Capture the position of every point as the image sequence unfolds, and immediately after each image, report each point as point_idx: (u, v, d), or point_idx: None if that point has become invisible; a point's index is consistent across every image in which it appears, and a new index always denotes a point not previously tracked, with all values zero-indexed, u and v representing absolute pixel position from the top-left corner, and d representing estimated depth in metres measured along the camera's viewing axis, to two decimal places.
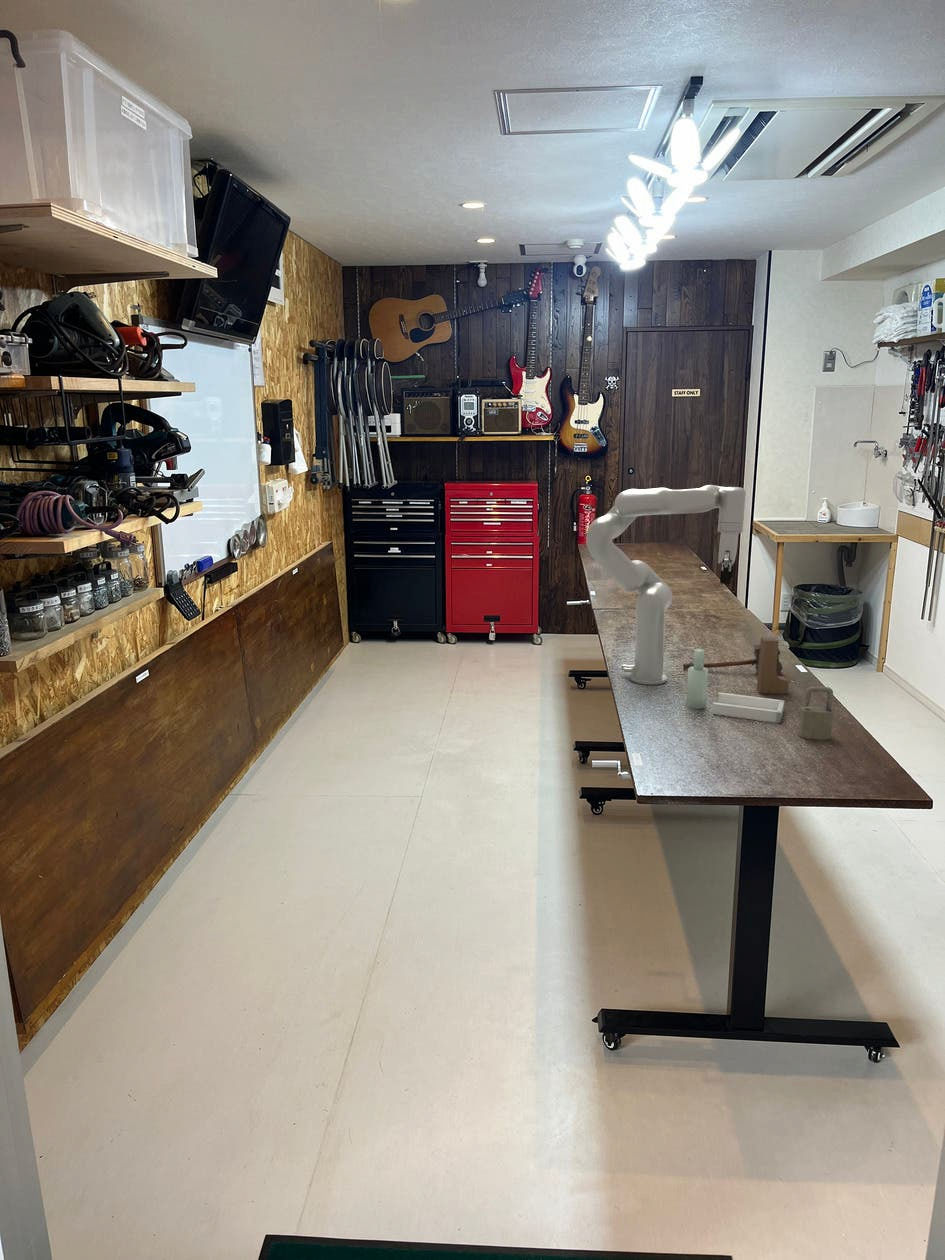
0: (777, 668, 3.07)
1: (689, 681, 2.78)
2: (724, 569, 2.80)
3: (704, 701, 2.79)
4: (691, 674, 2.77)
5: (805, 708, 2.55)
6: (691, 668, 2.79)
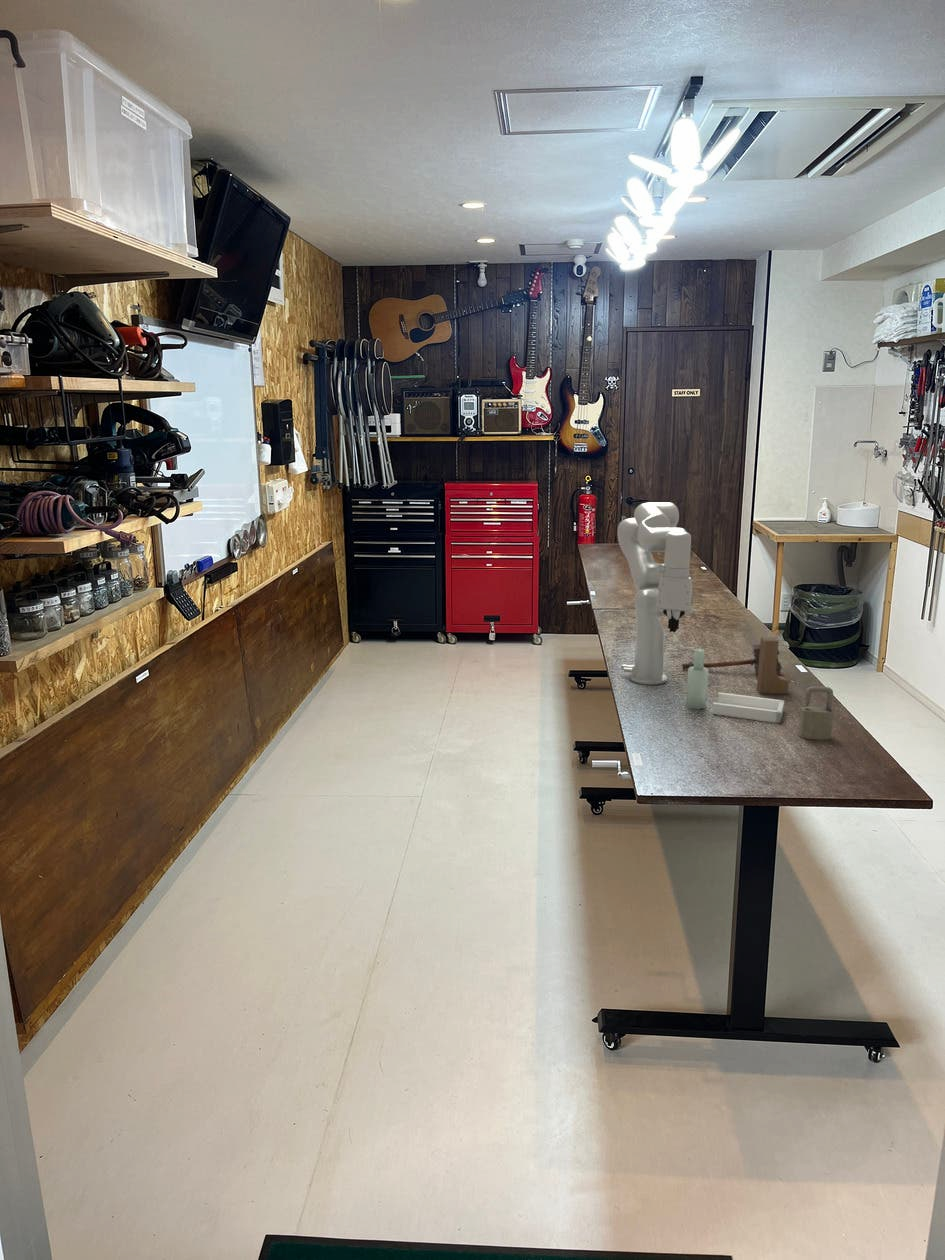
0: (776, 668, 3.07)
1: (689, 681, 2.78)
2: None
3: (704, 701, 2.79)
4: (691, 674, 2.77)
5: (805, 708, 2.55)
6: (691, 668, 2.79)
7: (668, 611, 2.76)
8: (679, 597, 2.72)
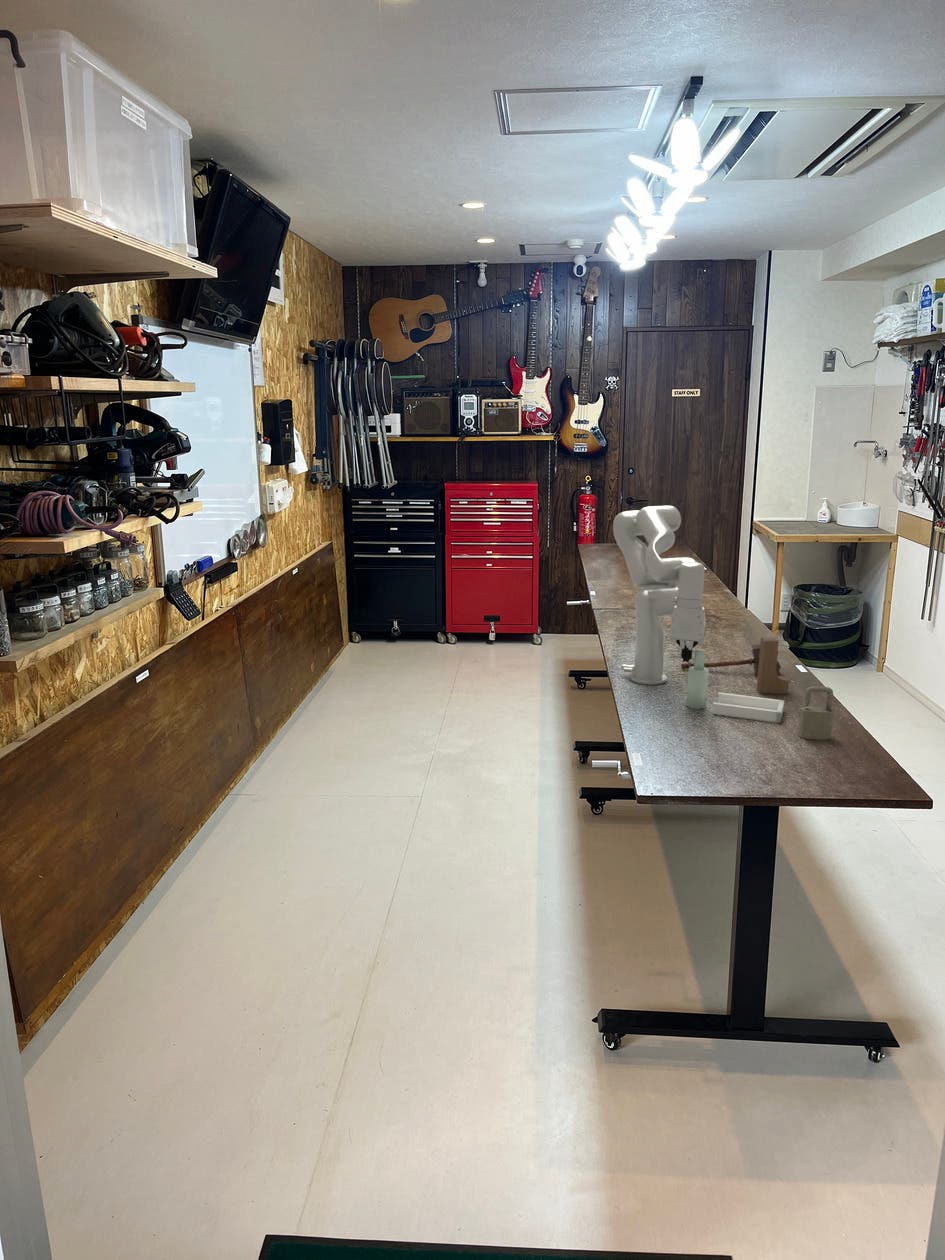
0: None
1: (689, 681, 2.78)
2: None
3: (704, 701, 2.79)
4: (691, 673, 2.77)
5: (805, 708, 2.55)
6: (691, 668, 2.79)
7: (681, 641, 2.77)
8: (692, 628, 2.73)
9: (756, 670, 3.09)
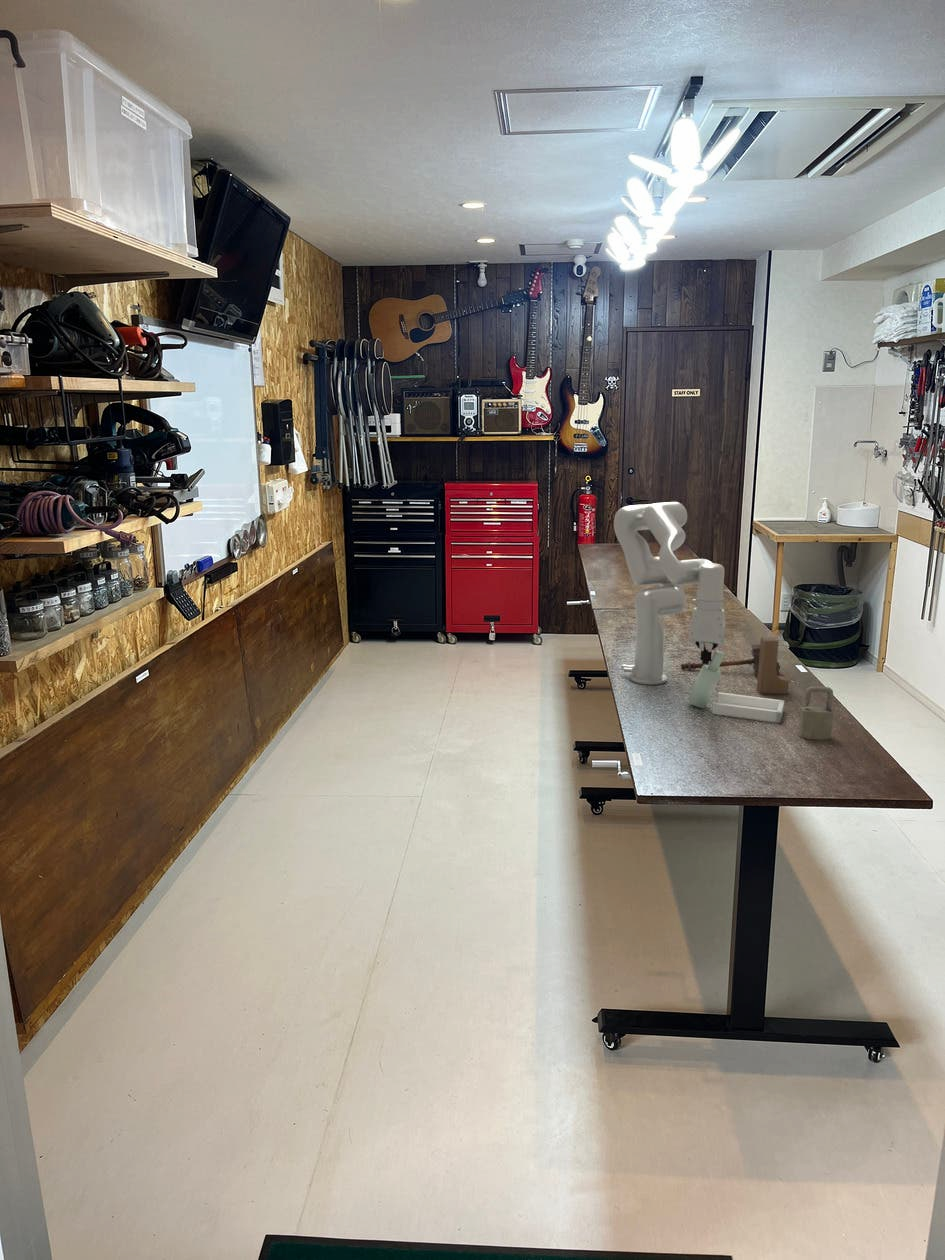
0: None
1: (699, 678, 2.77)
2: None
3: (706, 701, 2.78)
4: (704, 672, 2.75)
5: (805, 708, 2.55)
6: (705, 666, 2.77)
7: (701, 643, 2.74)
8: (712, 629, 2.71)
9: (756, 670, 3.09)
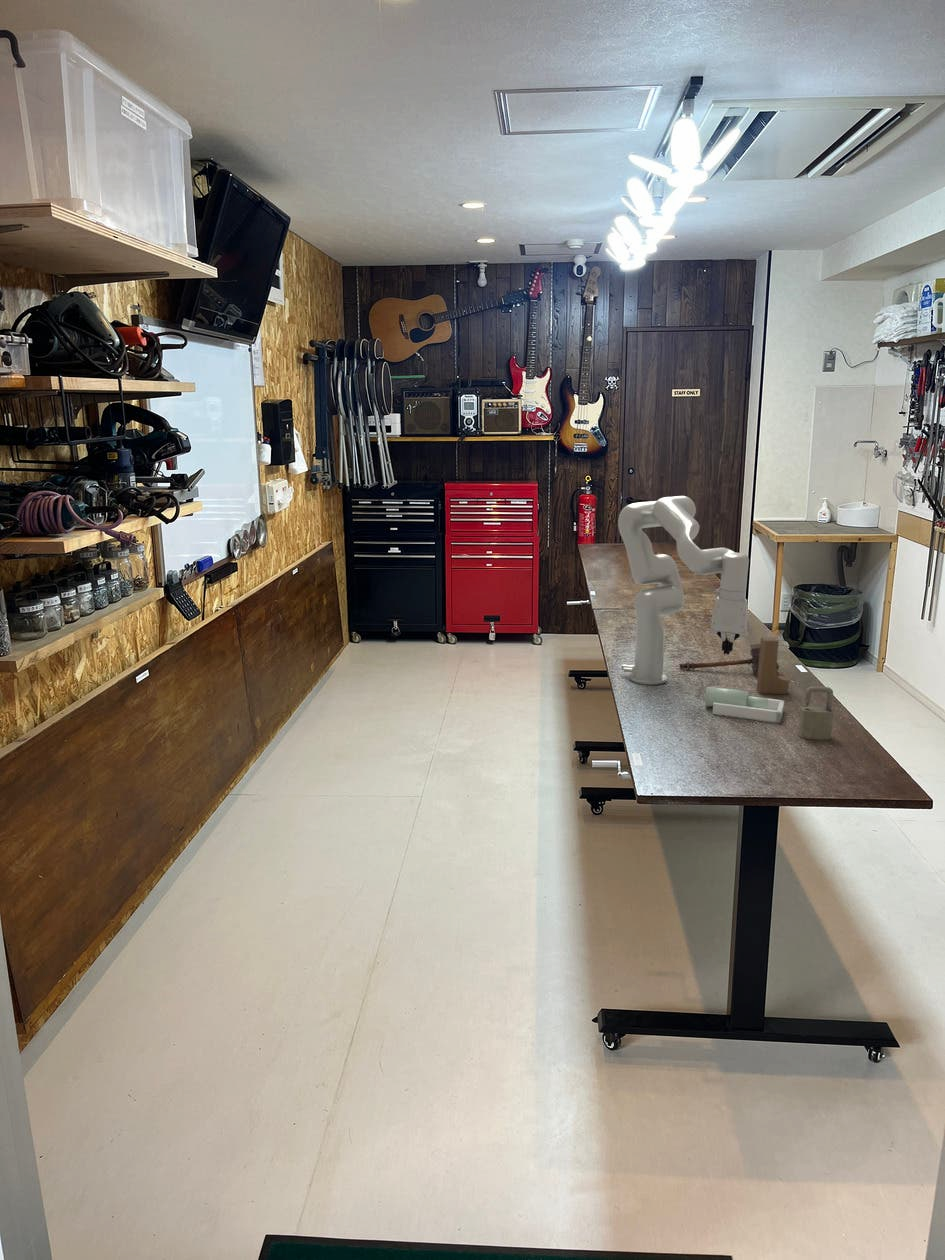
0: None
1: (734, 692, 2.75)
2: (735, 639, 2.71)
3: (712, 705, 2.78)
4: (742, 695, 2.74)
5: (805, 708, 2.55)
6: (747, 694, 2.75)
7: (722, 633, 2.71)
8: (735, 620, 2.68)
9: (754, 670, 3.09)
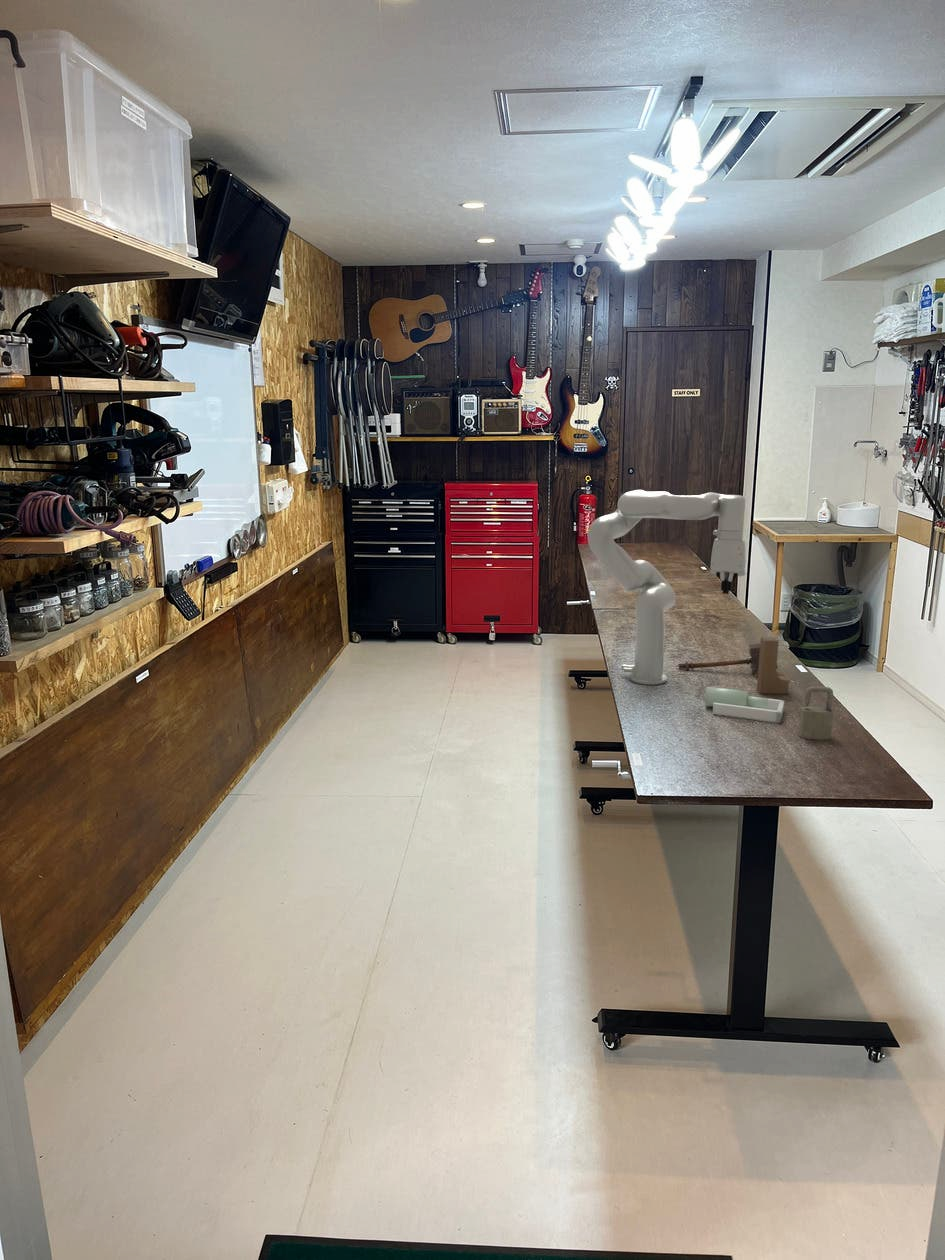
0: None
1: (734, 692, 2.75)
2: (734, 578, 2.83)
3: (712, 705, 2.78)
4: (742, 695, 2.74)
5: (805, 708, 2.55)
6: (747, 694, 2.75)
7: (721, 573, 2.83)
8: (733, 559, 2.79)
9: (753, 670, 3.09)
